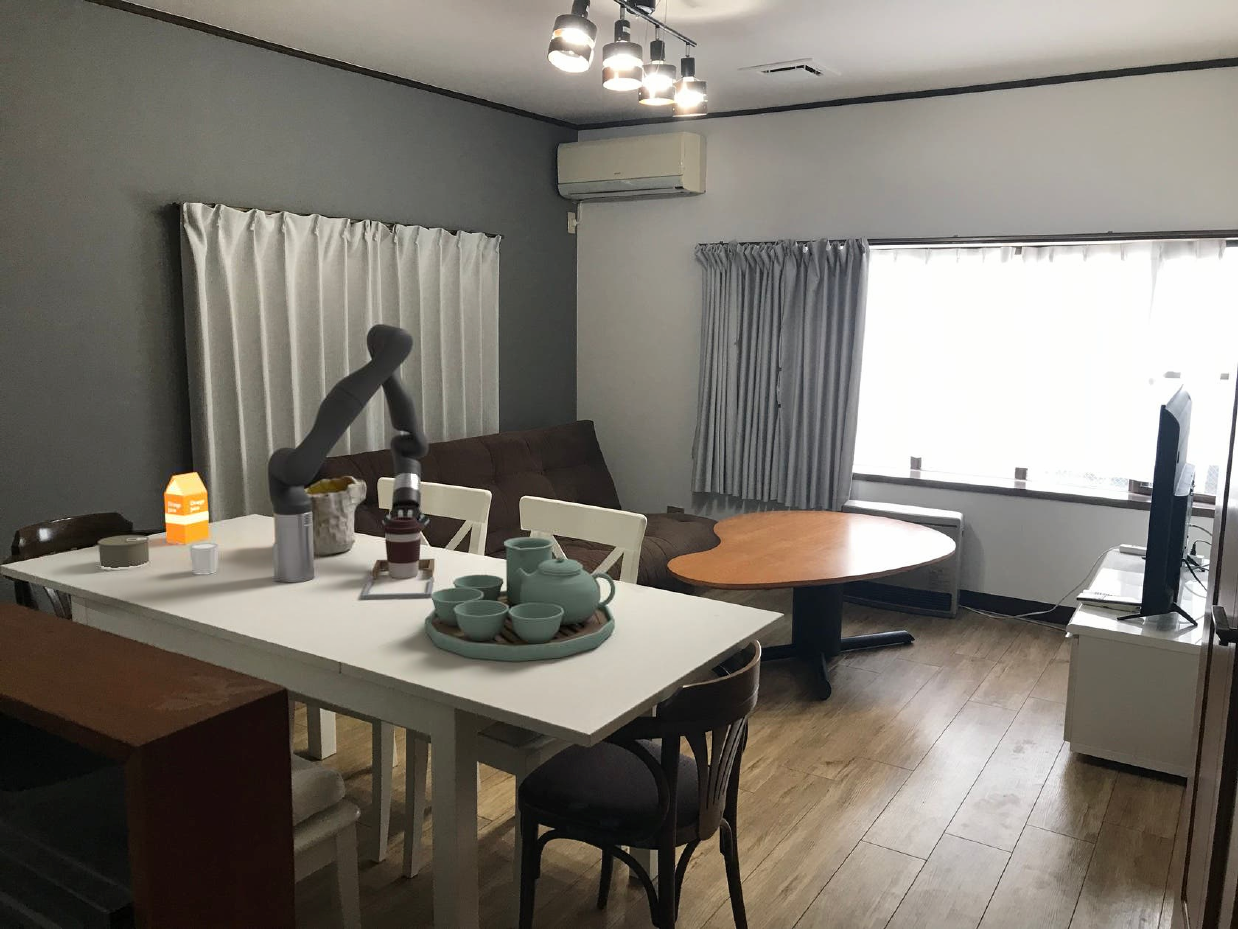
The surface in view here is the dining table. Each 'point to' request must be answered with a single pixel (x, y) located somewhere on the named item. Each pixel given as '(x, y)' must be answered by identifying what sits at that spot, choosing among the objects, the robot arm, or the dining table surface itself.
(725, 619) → the dining table surface
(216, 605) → the dining table surface
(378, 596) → the grey bay
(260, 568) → the dining table surface
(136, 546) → the can
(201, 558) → the shot glass
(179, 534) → the orange juice
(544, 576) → the tea set
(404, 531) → the coffee cup
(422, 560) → the cup holder
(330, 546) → the ceramic vessel
